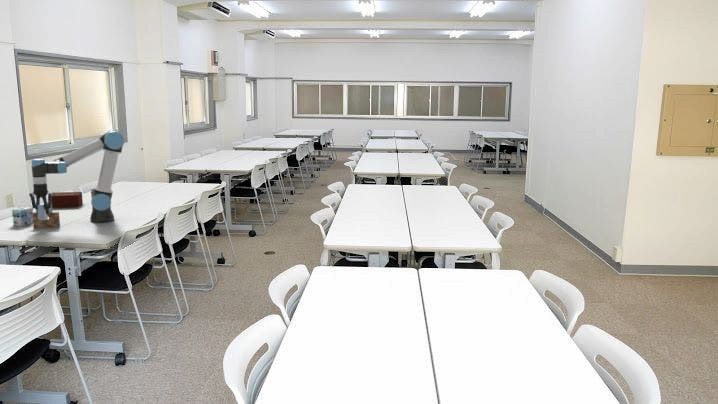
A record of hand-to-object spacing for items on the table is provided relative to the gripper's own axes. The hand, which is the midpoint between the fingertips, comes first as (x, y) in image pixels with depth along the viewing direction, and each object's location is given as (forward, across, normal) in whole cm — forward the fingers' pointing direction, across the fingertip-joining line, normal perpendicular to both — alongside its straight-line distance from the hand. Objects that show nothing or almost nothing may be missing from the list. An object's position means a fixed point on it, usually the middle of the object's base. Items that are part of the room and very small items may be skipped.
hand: (43, 218), depth 341 cm
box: (+7, +13, -75) cm, 77 cm away
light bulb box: (+7, +18, -14) cm, 24 cm away
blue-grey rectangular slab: (0, 0, -5) cm, 5 cm away
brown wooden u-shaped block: (+7, 0, -4) cm, 8 cm away
